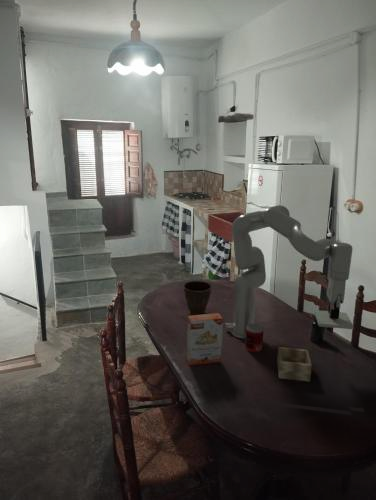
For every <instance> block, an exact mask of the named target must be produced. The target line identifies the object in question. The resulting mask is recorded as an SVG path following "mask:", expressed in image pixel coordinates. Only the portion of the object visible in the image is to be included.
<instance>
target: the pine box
mask: <svg viewBox="0 0 376 500" xmlns="http://www.w3.org/2000/svg"><path fill="white" fill-rule="evenodd" d="M277 348H278V349H277V359H276V366H277V372H278V373H277V374H278V379H284V380H293V381H294V380H295V381H299V382H300V381H303V382H311V375H312V368H313V367H312V366H313V365H312V361H311V358H310V352H309V350H308V349H304V348H303V349H302V348H292V347H282V346H281V347H280V346H278V347H277ZM298 362H300V363H298Z"/></svg>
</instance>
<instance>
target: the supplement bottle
mask: <svg viewBox="0 0 376 500" xmlns="http://www.w3.org/2000/svg"><path fill="white" fill-rule="evenodd" d="M326 330H327V327H321V326H319V325H318V322H317V319H316V316H315V315H314V317H313V321H311V323H310V331H309V341H311V342H312V343H314V344H315V343H317V344H322V343H324V342H325V336H326V332H327V331H326Z"/></svg>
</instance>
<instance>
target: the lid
mask: <svg viewBox="0 0 376 500" xmlns="http://www.w3.org/2000/svg"><path fill="white" fill-rule="evenodd" d="M335 302H337V301H335ZM332 304H333V303H331V304H330V305H331V306H330V314H331V309H332ZM335 305H336V304H334V306H335ZM328 312H329V310H317V309H314V316H316V319H317V322H318V325H319V326H321V327H326V328H335V329H343V330H346V329H347V330H354V325H353V322H352V321H351V319H350V317H349V315H348V313H347V312H339V318H338V319H334V318H330V314H329V313H328Z"/></svg>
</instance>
